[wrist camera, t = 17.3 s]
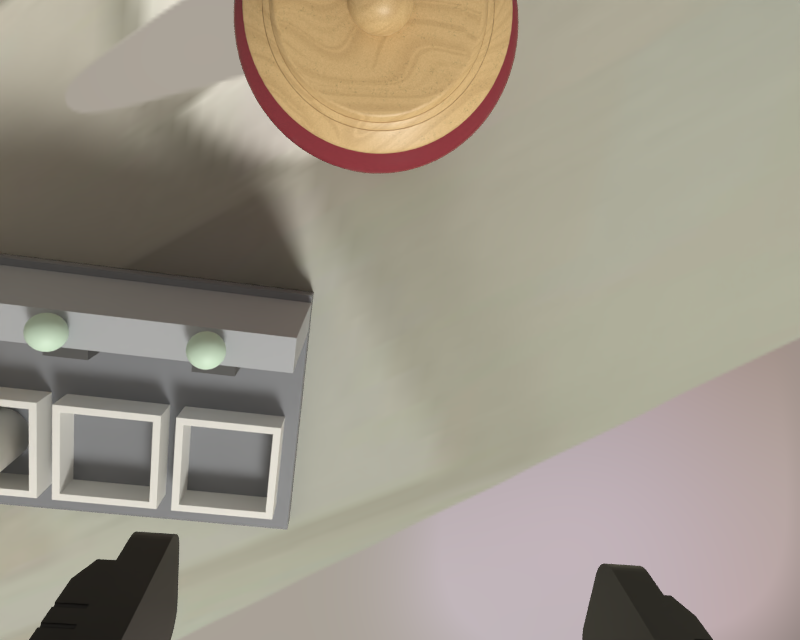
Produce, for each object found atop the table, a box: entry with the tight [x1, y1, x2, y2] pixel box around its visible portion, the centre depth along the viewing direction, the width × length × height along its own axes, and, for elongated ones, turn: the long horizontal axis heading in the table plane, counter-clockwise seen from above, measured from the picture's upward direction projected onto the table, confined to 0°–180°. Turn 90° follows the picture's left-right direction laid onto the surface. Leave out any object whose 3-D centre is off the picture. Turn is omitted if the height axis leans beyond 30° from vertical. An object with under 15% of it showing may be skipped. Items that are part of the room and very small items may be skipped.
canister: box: [234, 0, 518, 173], centre depth 30 cm, size 13×13×18 cm
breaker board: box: [0, 254, 314, 529], centre depth 37 cm, size 25×18×12 cm
